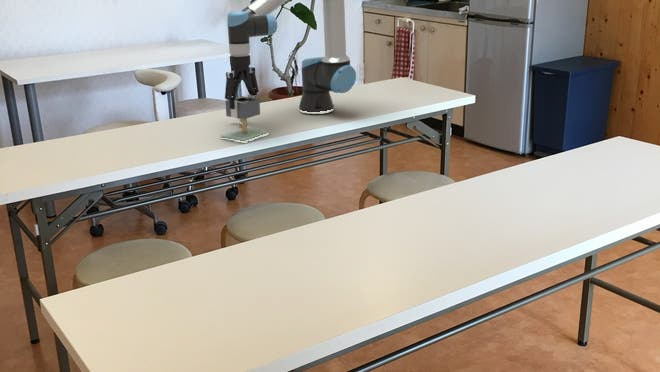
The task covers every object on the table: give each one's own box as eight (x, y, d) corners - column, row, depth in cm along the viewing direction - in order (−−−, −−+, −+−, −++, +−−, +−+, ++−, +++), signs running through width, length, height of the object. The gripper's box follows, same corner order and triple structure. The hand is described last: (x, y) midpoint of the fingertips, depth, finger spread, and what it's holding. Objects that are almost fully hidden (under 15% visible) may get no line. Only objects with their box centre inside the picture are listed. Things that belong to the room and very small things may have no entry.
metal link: (242, 111, 273) (241, 96, 271) (260, 114, 268) (259, 98, 266) (226, 116, 266) (225, 100, 264) (244, 119, 261) (243, 103, 259)
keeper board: (245, 130, 279) (243, 108, 276) (268, 135, 272) (267, 112, 269) (220, 139, 268) (219, 116, 265) (244, 143, 261) (243, 120, 258)
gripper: (251, 50, 270) (254, 107, 277) (211, 58, 253) (215, 119, 261) (266, 51, 266) (269, 110, 273) (227, 59, 249) (231, 121, 256)
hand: (243, 114), depth 267 cm, fingers closed on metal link, 9 cm apart
